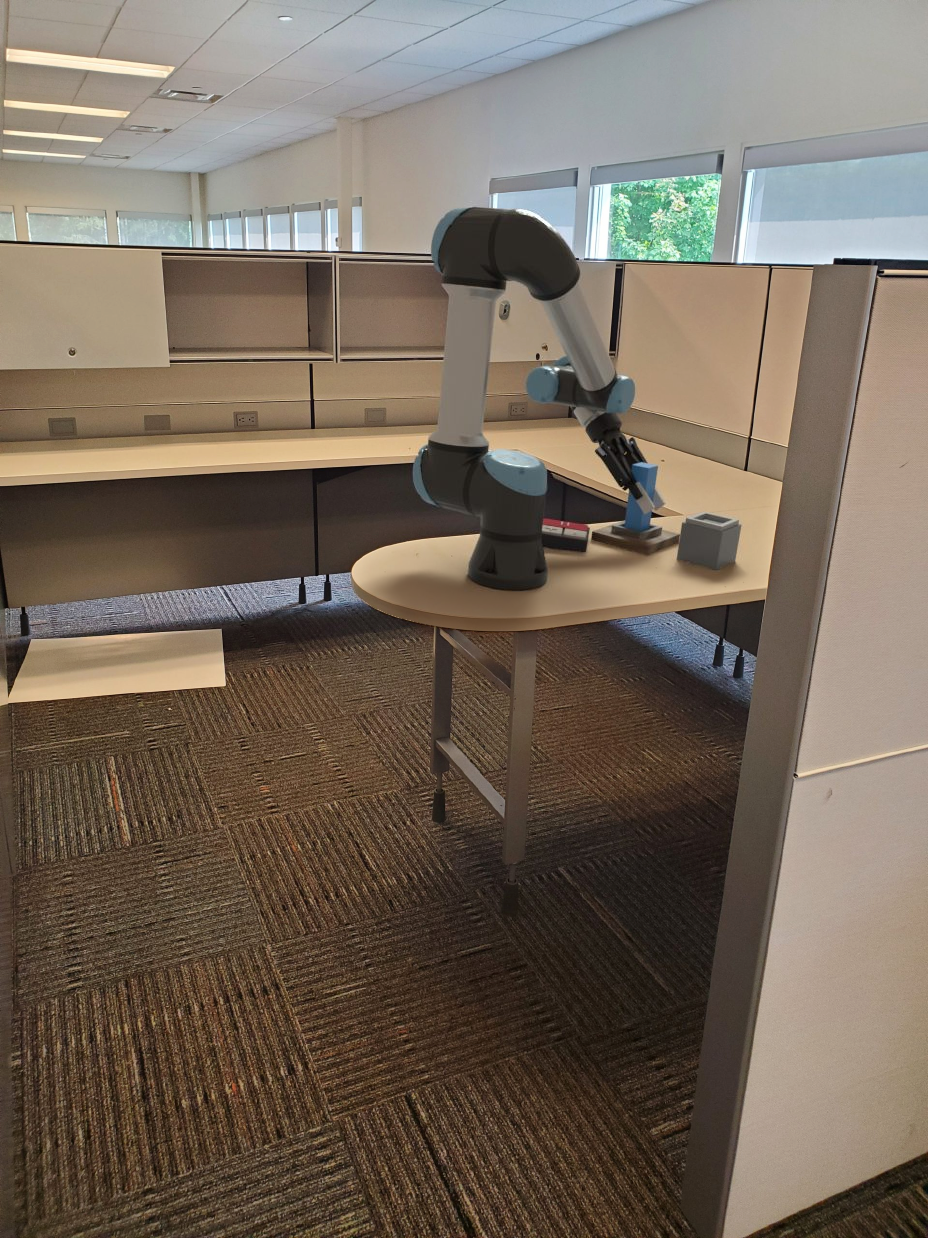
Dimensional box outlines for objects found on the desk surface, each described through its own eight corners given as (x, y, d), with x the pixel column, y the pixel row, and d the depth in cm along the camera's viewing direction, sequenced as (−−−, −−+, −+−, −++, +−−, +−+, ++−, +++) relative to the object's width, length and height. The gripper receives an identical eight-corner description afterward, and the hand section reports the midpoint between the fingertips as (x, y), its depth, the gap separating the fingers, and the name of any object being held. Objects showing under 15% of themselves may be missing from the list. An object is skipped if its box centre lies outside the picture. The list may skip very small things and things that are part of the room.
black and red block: (588, 537, 195) (517, 526, 197) (585, 557, 197) (514, 546, 199) (590, 523, 206) (523, 513, 207) (587, 542, 207) (520, 531, 209)
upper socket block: (716, 570, 191) (723, 527, 187) (676, 559, 196) (682, 517, 193) (735, 561, 197) (742, 519, 194) (696, 550, 202) (702, 510, 199)
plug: (640, 531, 203) (648, 468, 197) (624, 527, 205) (632, 464, 200) (649, 528, 206) (658, 465, 200) (633, 524, 208) (641, 462, 203)
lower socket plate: (647, 555, 197) (649, 539, 196) (591, 540, 205) (592, 524, 204) (678, 542, 207) (681, 527, 206) (624, 528, 215) (626, 513, 214)
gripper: (589, 412, 196) (648, 506, 192) (630, 405, 208) (687, 493, 205) (565, 433, 201) (622, 525, 197) (607, 425, 213) (662, 511, 210)
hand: (655, 508), depth 201 cm, fingers closed on plug, 4 cm apart
